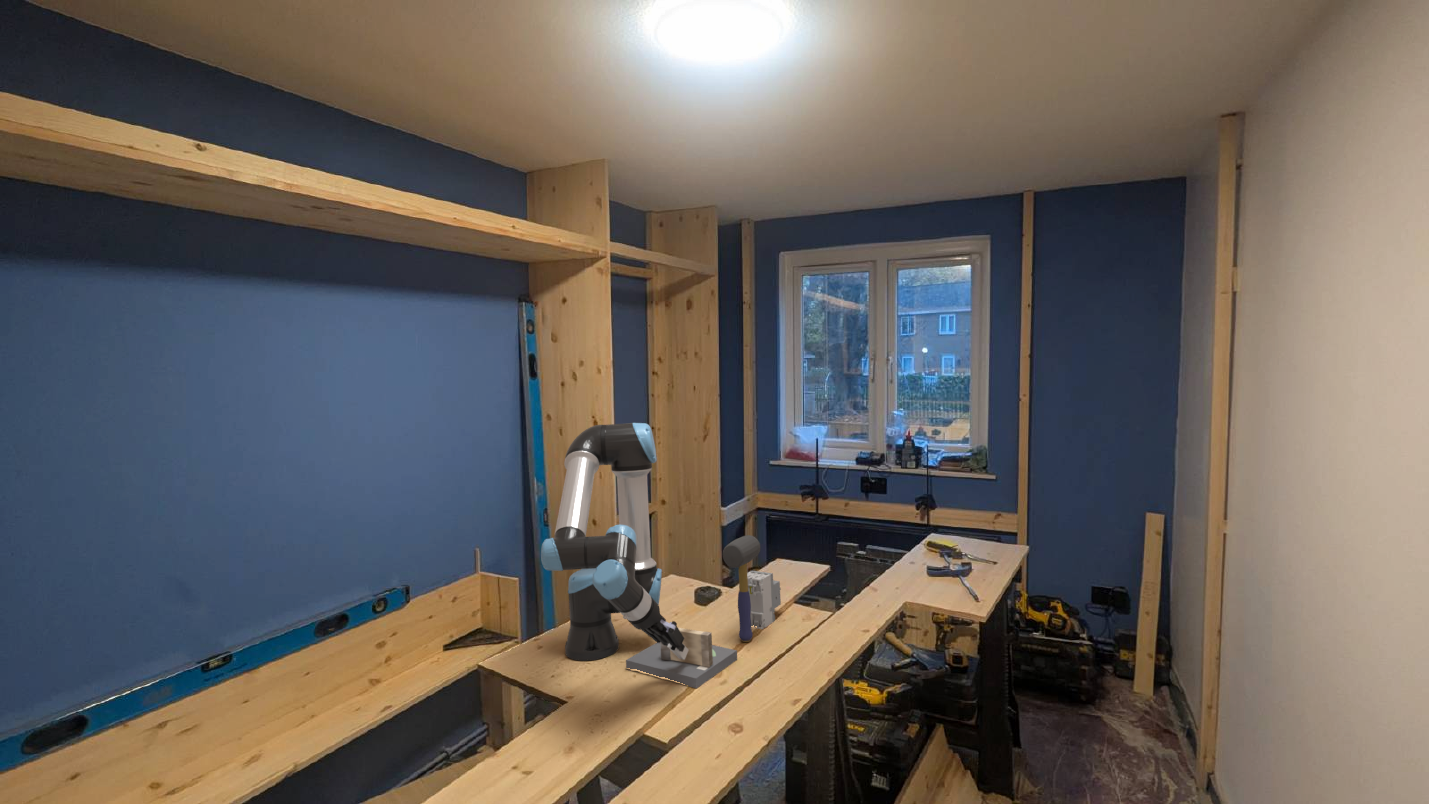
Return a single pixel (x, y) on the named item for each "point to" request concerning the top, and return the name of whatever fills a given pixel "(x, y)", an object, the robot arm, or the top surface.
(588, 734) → the top surface
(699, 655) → the wooden block
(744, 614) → the rubber mallet
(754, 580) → the circuit breaker
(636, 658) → the board
